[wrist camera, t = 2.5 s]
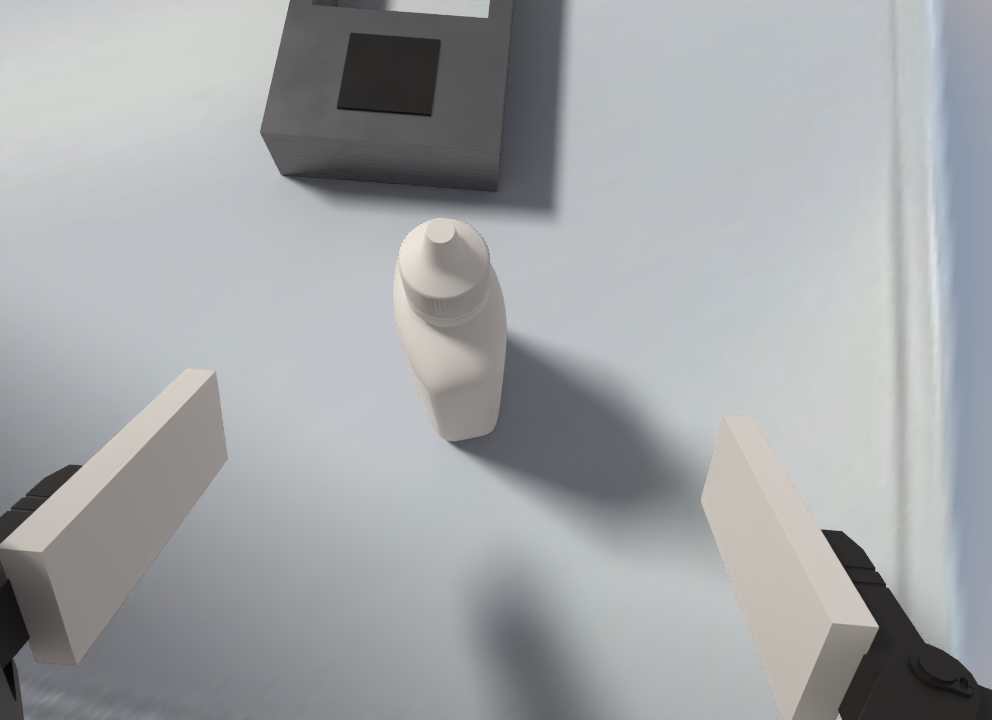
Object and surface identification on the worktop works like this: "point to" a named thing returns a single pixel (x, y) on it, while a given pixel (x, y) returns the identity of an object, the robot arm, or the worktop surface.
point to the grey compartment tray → (389, 95)
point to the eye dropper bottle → (452, 326)
